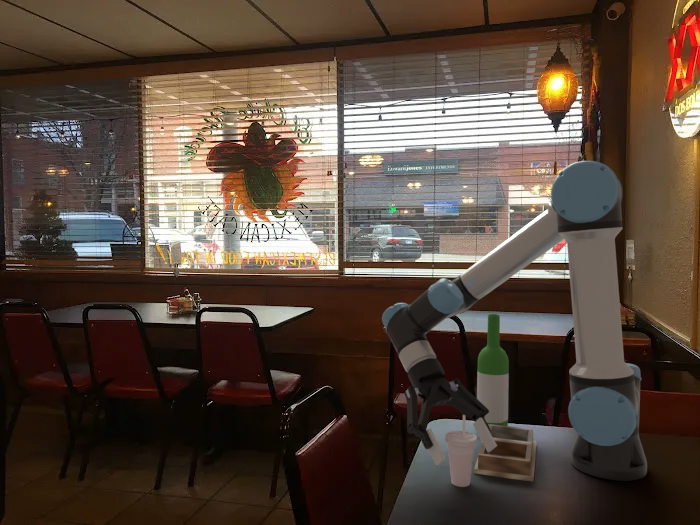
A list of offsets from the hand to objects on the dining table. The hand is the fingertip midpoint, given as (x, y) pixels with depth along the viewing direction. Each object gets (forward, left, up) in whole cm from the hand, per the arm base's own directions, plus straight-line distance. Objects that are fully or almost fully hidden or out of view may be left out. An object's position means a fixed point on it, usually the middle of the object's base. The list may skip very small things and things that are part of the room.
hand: (467, 455), depth 114 cm
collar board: (-7, -17, -6) cm, 20 cm away
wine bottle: (-2, -34, -6) cm, 35 cm away
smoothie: (+2, -1, -6) cm, 7 cm away
